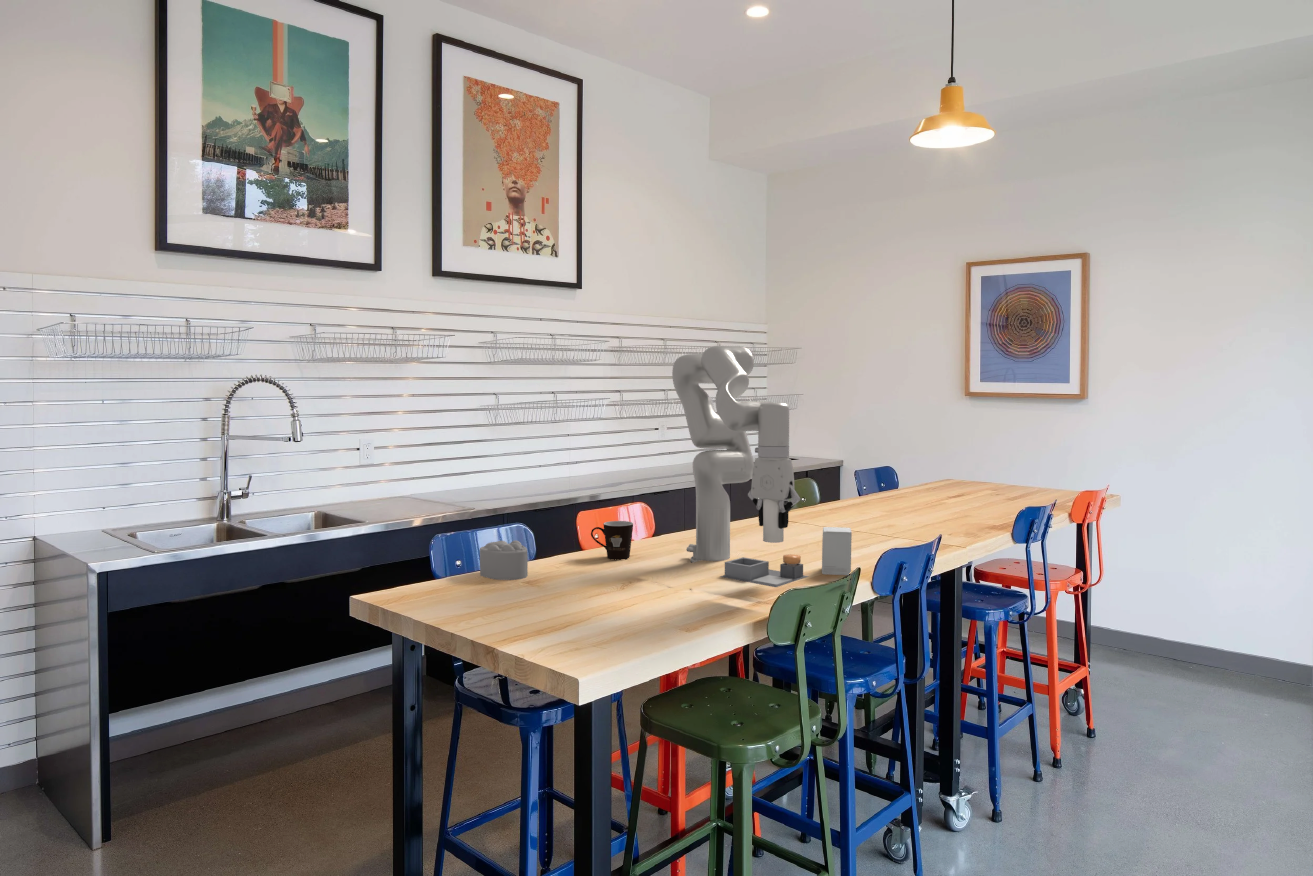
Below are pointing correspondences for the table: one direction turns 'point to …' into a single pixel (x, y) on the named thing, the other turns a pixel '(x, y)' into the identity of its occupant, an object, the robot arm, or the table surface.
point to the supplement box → (836, 550)
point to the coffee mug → (616, 539)
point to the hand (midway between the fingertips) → (773, 525)
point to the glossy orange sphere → (791, 559)
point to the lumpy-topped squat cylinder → (504, 561)
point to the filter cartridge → (771, 522)
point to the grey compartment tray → (762, 572)
